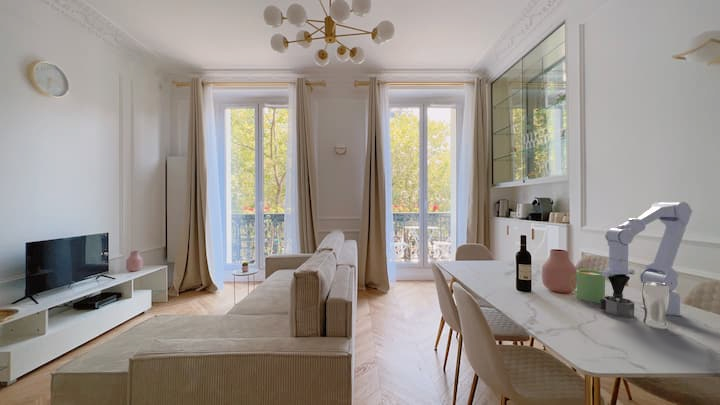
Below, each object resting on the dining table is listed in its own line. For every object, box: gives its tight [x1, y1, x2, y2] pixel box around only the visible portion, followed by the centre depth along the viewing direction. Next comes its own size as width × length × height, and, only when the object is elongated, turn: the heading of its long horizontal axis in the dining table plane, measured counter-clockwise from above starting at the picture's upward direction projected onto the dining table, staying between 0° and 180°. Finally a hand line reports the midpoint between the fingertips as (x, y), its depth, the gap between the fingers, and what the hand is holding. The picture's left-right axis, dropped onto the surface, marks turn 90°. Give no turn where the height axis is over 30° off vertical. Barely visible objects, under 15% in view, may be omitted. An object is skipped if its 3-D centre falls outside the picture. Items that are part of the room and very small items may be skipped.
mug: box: [569, 268, 606, 304], centre depth 138 cm, size 13×10×12 cm
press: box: [599, 295, 635, 319], centre depth 120 cm, size 10×9×5 cm
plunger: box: [612, 291, 624, 303], centre depth 120 cm, size 7×7×5 cm
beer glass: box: [641, 281, 669, 330], centre depth 108 cm, size 7×7×15 cm
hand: (617, 293), depth 120 cm, fingers closed, pressing on plunger
